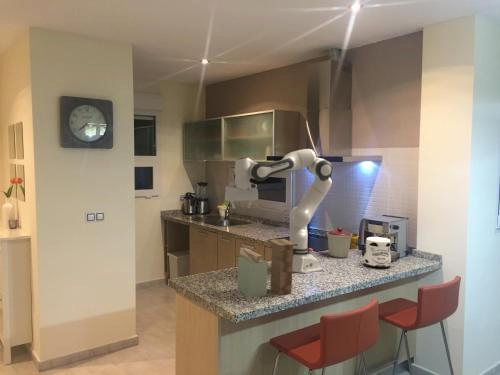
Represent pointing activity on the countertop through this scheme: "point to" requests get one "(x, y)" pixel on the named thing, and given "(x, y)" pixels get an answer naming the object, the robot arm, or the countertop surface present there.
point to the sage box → (252, 277)
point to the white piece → (377, 252)
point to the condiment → (354, 241)
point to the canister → (339, 243)
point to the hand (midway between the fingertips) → (241, 208)
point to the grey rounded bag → (394, 255)
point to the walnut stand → (281, 266)
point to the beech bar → (251, 255)
